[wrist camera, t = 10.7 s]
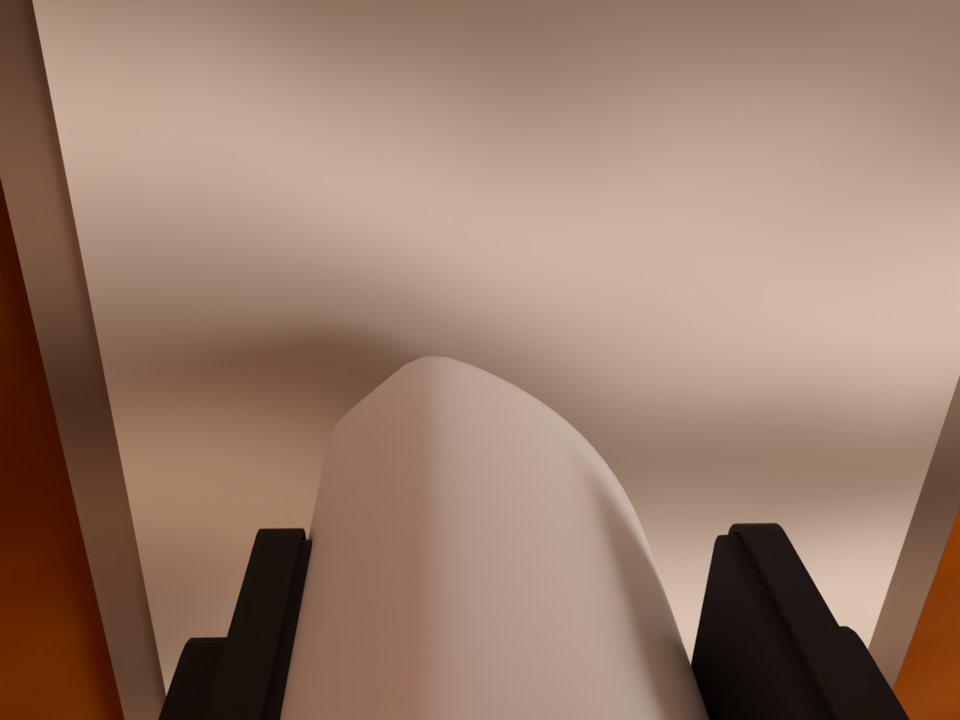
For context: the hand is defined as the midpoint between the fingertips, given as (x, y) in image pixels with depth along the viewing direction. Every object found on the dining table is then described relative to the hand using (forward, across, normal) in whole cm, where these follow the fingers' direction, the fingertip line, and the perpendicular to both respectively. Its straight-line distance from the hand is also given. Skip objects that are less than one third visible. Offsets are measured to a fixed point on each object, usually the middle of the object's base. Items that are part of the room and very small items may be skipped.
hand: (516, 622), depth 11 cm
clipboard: (+5, -1, 0) cm, 5 cm away
